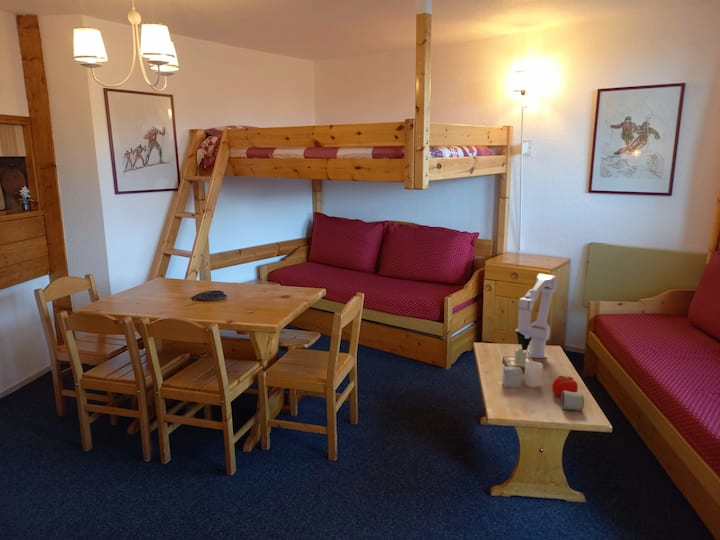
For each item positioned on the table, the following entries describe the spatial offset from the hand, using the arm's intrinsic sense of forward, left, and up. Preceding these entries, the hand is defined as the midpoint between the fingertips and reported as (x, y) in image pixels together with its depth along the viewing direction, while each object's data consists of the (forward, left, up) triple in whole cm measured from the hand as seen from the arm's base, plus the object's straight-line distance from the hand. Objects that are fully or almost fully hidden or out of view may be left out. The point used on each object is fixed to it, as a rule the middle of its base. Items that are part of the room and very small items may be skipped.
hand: (522, 347), depth 261 cm
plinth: (0, -1, -10) cm, 10 cm away
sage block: (0, -1, -8) cm, 8 cm away
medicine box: (+23, -10, -11) cm, 27 cm away
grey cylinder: (+43, +10, -11) cm, 45 cm away
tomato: (+32, +11, -11) cm, 36 cm away
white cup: (+21, 0, -11) cm, 24 cm away
